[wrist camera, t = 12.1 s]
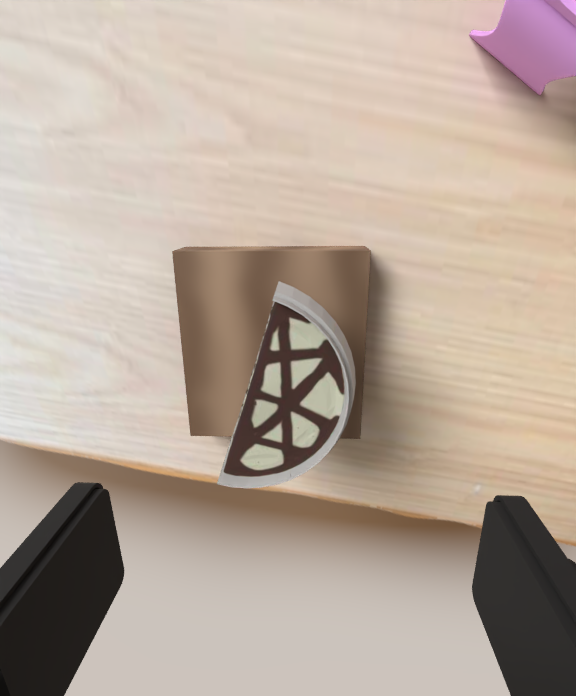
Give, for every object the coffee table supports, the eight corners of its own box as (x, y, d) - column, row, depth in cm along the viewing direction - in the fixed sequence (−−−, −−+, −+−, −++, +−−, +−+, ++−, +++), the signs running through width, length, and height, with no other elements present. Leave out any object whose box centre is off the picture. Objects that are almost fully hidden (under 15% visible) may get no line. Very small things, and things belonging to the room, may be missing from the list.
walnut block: (363, 245, 32) (370, 250, 29) (354, 415, 37) (360, 438, 33) (187, 246, 33) (172, 251, 29) (202, 412, 38) (190, 435, 34)
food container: (313, 431, 33) (316, 520, 24) (240, 409, 33) (214, 491, 24) (367, 288, 29) (396, 326, 20) (285, 261, 29) (275, 288, 20)
